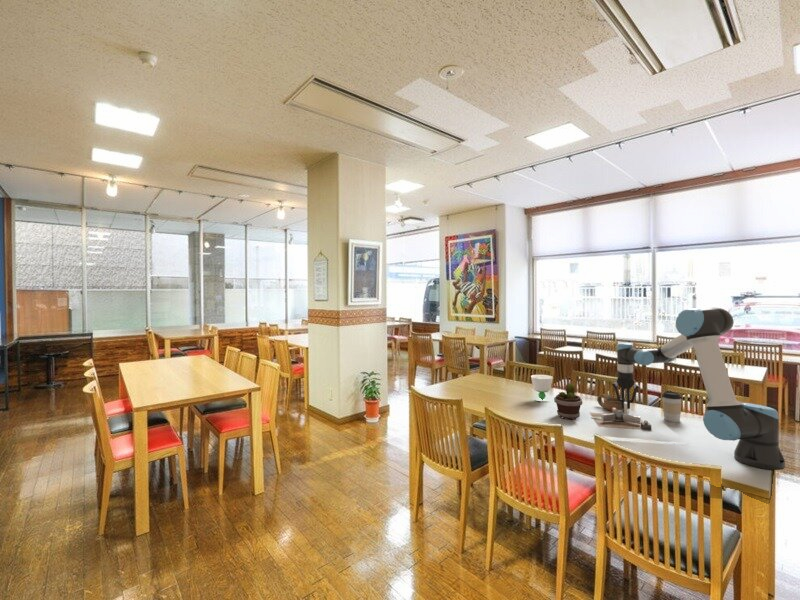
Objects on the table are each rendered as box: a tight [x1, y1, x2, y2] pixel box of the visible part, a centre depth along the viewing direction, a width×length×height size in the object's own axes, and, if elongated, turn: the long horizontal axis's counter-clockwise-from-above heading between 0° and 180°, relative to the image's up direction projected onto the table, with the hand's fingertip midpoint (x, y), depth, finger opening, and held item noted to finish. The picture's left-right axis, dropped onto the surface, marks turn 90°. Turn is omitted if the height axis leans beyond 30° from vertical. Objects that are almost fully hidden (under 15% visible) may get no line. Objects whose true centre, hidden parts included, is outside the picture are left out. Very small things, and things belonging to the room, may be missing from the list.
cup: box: [530, 374, 554, 400], centre depth 249 cm, size 14×14×16 cm
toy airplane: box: [589, 412, 652, 431], centre depth 203 cm, size 24×25×6 cm
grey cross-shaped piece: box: [601, 408, 642, 424], centre depth 205 cm, size 16×18×6 cm
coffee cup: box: [661, 390, 683, 423], centre depth 207 cm, size 9×9×15 cm
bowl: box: [596, 393, 627, 413], centre depth 224 cm, size 18×14×10 cm
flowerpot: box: [553, 382, 583, 420], centre depth 215 cm, size 14×15×20 cm
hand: (626, 414), depth 207 cm, fingers closed
